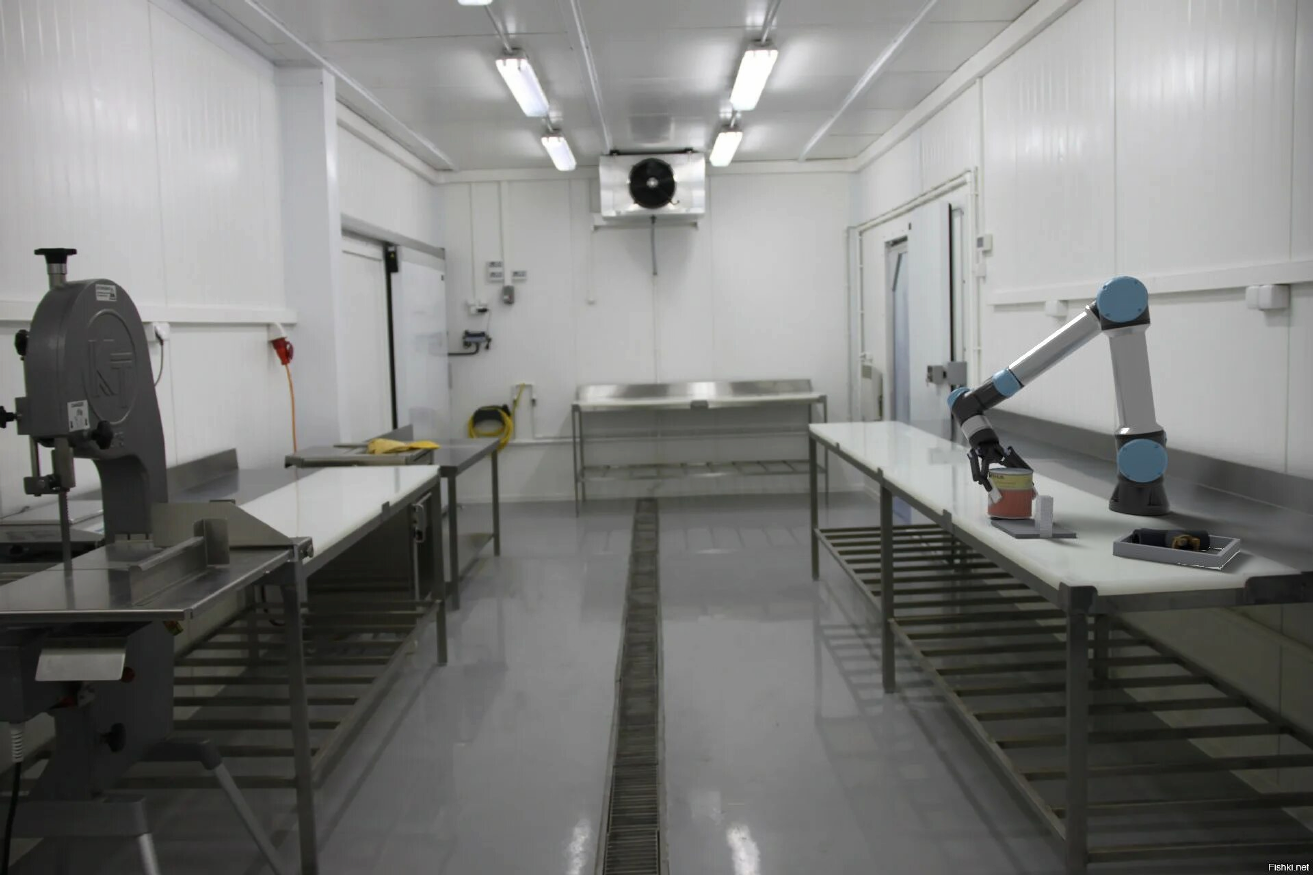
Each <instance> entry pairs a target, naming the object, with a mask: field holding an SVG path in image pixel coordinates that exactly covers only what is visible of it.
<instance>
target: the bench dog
mask: <svg viewBox="0 0 1313 875" xmlns="http://www.w3.org/2000/svg"><path fill="white" fill-rule="evenodd" d="M1034 514H1035V515H1034V520H1035V532H1037V533H1039V534H1040V539H1044V538H1045V539H1048V538H1049V539H1050V538H1052V522H1054V520H1053V515H1054V496H1051V495H1047V494H1046V495H1042V494H1040V495H1036V498H1035V513H1034Z"/></svg>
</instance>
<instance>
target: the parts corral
mask: <svg viewBox="0 0 1313 875" xmlns="http://www.w3.org/2000/svg"><path fill="white" fill-rule="evenodd" d="M1135 529H1157V528H1154V527H1146V526H1138V527H1136V528H1133V530H1131V531H1129V532H1127V533H1125V534H1124V535H1123V536H1121V537H1119V538H1117V539H1116V540H1114V541H1113V544H1112V555H1114V556H1119V557H1125V556H1126V557H1127V558H1133V559H1140V560H1146V561H1152V562H1153V561H1154V562H1159V561H1161V562H1160V563H1166V562H1168V564H1173V563H1180V564H1186V565H1185V566H1187V565H1199V566H1204V567H1219V568H1220V567H1222V565H1224V564H1225V563H1226V562H1227V561H1228V560H1229V559H1230V558H1231V557H1232V556H1233V555H1234V554H1235V553H1236V552H1238V551H1239V550H1240V551H1241V538H1236V537H1227V536H1219V535H1211V534H1209V537H1210V548H1222V549H1223V548H1224V549H1223V550H1219V552H1218V553H1217V554H1215V553H1214V554H1213V553H1207V552H1201V551H1198V552H1192V551H1185V550H1177V549H1170V548H1163V547H1155V546H1148V545H1141V544H1133V543H1132V533H1133V531H1134V530H1135ZM1180 564H1179V565H1180Z"/></svg>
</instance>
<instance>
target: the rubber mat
mask: <svg viewBox="0 0 1313 875" xmlns="http://www.w3.org/2000/svg"><path fill="white" fill-rule="evenodd" d="M991 524H992V525H991ZM990 525H991V526H993V527H995V528H997V529H998V528H999V529H998V530H1000V531H1002V530H1003V531H1002V532H1003V533H1005V534H1007V533H1008V534H1007V535H1009V536H1011V537H1012V536H1013V537H1012V538H1014V537H1015V538H1014V539H1039V538H1040V534H1039V533H1037V532H1035V519H1033V520H1032V519H1022V520H1020V519H1014V520H1012V519H1009V520H1003V519H1002V520H990ZM1052 538H1053V539H1054V538H1058V539H1060V538H1067V539H1068V538H1077V533H1076V532H1074V531H1072V530H1070V529H1068V528H1066V527H1064V526H1061V525H1059V524H1058V523H1055V522H1054V521H1052ZM1040 539H1041V538H1040Z"/></svg>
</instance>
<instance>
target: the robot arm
mask: <svg viewBox="0 0 1313 875" xmlns="http://www.w3.org/2000/svg"><path fill="white" fill-rule="evenodd" d="M1096 295H1097V296H1096V297H1095V298H1094V299H1093V300H1091V301H1090V302H1089V303H1088V304H1086V305H1085V309H1084V311H1083V312H1082V313H1080V314H1079V315H1077V316H1076V317H1075V318H1073V319H1072V320H1071V321H1069V322H1067V323H1066V324H1065V325H1064V326H1062V327H1061V328H1060V329H1058V330H1057V331H1054V332H1053V333H1052V334H1051V335H1049V337H1047V338H1046V339H1044V340H1043V341H1040V343H1039V344H1037V345H1036V346H1035V347H1033V348H1032V349H1031V350H1029V351H1028V352H1026V353H1025V354H1024V355H1022V356H1021V357H1019V358H1018V359H1016V361H1014V362H1012V363H1011V364H1010V365H1008V366H1007V367H1006V368H1003V369H1001V370H1000V371H998V372H995V373H994V374H992V375H991V376H990V377H988V378H986V380H984V381H983V382H982V383H980V384H978V385H977V386H976V387H974V388H971V389H970V388H968V387H966V386H963V387H962V386H961V387H959V388H957V389H954V390H953V391H951V392H950V393H949V395H947V397H946V398H947V399H946V401H947V402H946V403H947V405H948V407H949V409H950V412H951V414H952V416H953V417H954V418H955V420H956V421H957V422H956V423H957V424H958V426H959V427H960V430H961V431H962V434H964V437H965V439H966V440H967V441H968V444H969V446H970V447H971V448H970V449H969V450H968V452H967V453H966V456H967V459H969V465H970V471H971V477H972V481H973V482H976V483H978V485H980V486H982V487H983V488H984V489H985V492H987V493H988V492H989V494H990V495H991V497H992V499H993V501H994V503H998V502H999V501H1000V499H1001V498H1002V496H1001V494H1000V492H999V491H998V489H997V487H996V485H995V484H994V482H993V480H992V478H988V477H989V469H990V465H992V464H999V465H1000V466H1001V467H1002V466H1003V467H1004V468H1022V469H1029V470H1032V471H1033V473H1035V472H1034V469H1033V468H1032V467H1031V466H1030V465H1029V464H1028V463H1027V462H1026V461H1025V460H1024V459H1023V458H1022V457H1021V456H1020V455H1019V454H1018V453H1017V452H1016V451H1015V449H1014V448H1013V446H1011V445H1009V446H1007V447H1006V448H1004V447H1003V446H1001V444H1000V437H999V436H998V435H997V433H996V432H995V430H994V429H993V426H992V424H991V423H990V421H989V419H988V418H987V416H986V415H985V413H987V412H988V411H990V410H991V409H992V408H995V407H996V406H997V405H999V404H1000V403H1002V402H1004V401H1006V400H1009V399H1010V398H1012V397H1013V396H1015V394H1017V393H1018V392H1020V391H1021V390H1022V389H1023V388H1025V387H1026V386H1027V385H1029V384H1030V383H1032V382H1033V381H1035V380H1036V379H1037V378H1039V377H1041V375H1043V374H1045V373H1047V372H1048V371H1049V370H1050V369H1052V368H1053V367H1055V366H1056V365H1057V364H1059V363H1061V362H1062V361H1063V360H1065V359H1066V358H1068V357H1069V356H1071V355H1072V354H1073V353H1074V352H1076V351H1078V350H1079V349H1081V348H1082V347H1083V346H1085V345H1086V344H1088V343H1089V342H1090V341H1091V340H1093V339H1095V338H1096V337H1098V336H1099V335H1101V333H1103V334H1104V335H1105V336H1107V337H1108V343H1109V351H1110V359H1111V366H1112V374H1113V382H1114V390H1115V397H1116V398H1115V399H1116V400H1115V401H1116V407H1117V414H1118V415H1117V416H1118V422H1119V423H1118V424H1119V426H1118V427H1117V428H1116V430H1115V431H1114V443H1115V450H1116V459H1115V460H1116V461H1115V462H1116V465H1117V471H1116V472H1117V474H1116V483H1115V485H1114V488H1113V490H1112V493H1111V495H1110V497H1109V499H1108V509H1109V510H1111V511H1114V512H1118V513H1123V514H1129V515H1130V514H1131V515H1139V516H1157V515H1158V516H1161V515H1167V514H1170V511H1171V509H1170V508H1171V504H1170V500H1169V497H1168V494H1167V490H1166V487H1165V472H1166V470H1167V467H1168V466H1169V454H1168V453H1167V442H1168V437H1167V432H1166V431H1165V430H1164V429H1165V428H1164V427H1163V426H1162V425H1160V424H1159V423H1158V422H1157V418H1156V411H1155V410H1156V409H1155V404H1154V396H1153V395H1154V394H1153V387H1152V378H1151V371H1150V362H1149V354H1148V353H1149V352H1148V346H1147V345H1148V344H1147V339H1146V338H1147V337H1146V331H1147V330H1148V329H1149V327H1150V326H1151V316H1150V306H1149V292H1148V289H1147V286H1145V285H1144V283H1143V282H1141V281H1140V280H1139V279H1138V278H1136V277H1133V276H1128V275H1127V276H1125V275H1124V276H1118V277H1113V278H1111V279H1109V280H1108V281H1106V282H1104V284H1103V285H1102V286H1101V287H1100V289H1099V290H1098V293H1097V294H1096ZM979 458H980V460H981V461H980V460H979ZM1003 458H1004V459H1003ZM980 466H981V467H980ZM1036 495H1039V492H1038V491H1037V489H1036V487H1035V483H1034V482H1033V486H1032V501H1034V500H1036Z"/></svg>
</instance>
